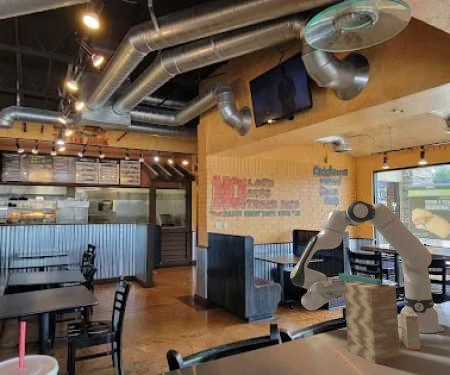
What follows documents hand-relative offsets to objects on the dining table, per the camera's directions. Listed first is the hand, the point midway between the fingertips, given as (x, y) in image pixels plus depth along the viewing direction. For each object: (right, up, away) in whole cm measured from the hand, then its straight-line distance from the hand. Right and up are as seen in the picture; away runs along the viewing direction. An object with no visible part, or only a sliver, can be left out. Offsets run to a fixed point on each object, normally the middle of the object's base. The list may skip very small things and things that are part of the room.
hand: (341, 279), depth 154 cm
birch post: (+7, -24, -17) cm, 30 cm away
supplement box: (+25, -25, -9) cm, 36 cm away
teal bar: (+4, +1, -9) cm, 10 cm away
